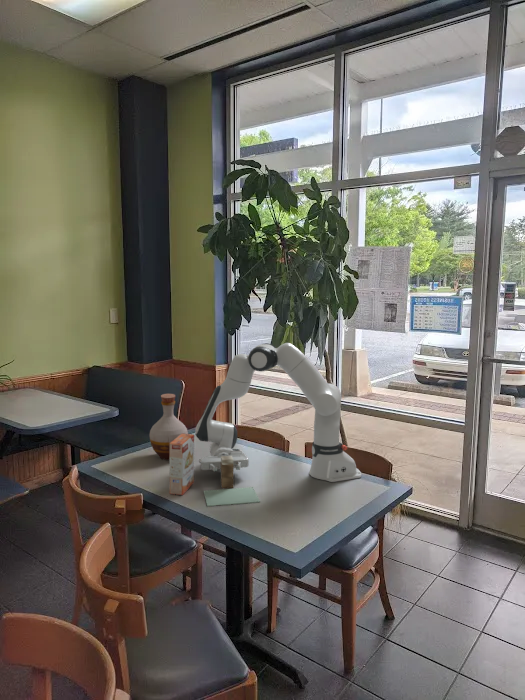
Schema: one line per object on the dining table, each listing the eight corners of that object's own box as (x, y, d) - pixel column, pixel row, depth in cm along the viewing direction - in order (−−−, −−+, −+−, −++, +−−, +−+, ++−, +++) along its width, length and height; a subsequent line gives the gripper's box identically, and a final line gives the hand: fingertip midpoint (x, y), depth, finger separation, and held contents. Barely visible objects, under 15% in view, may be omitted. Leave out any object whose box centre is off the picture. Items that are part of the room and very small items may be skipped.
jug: (147, 451, 256) (146, 391, 252) (184, 448, 262) (183, 389, 258) (151, 465, 238) (150, 400, 234) (191, 461, 243) (190, 398, 239)
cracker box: (183, 496, 204) (183, 444, 202) (169, 494, 206) (168, 443, 203) (195, 482, 218) (194, 433, 215) (181, 481, 219) (180, 432, 216)
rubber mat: (252, 488, 213) (252, 487, 213) (260, 502, 199) (260, 501, 199) (203, 491, 209) (203, 490, 209) (207, 506, 195) (207, 505, 195)
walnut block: (231, 483, 217) (231, 455, 216) (233, 487, 213) (233, 459, 211) (220, 484, 216) (220, 456, 215) (222, 488, 212) (222, 460, 210)
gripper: (198, 452, 226) (201, 463, 212) (245, 449, 230) (251, 459, 216) (198, 466, 226) (201, 478, 213) (245, 463, 231) (250, 474, 217)
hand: (226, 468), depth 215 cm, fingers open, 8 cm apart
